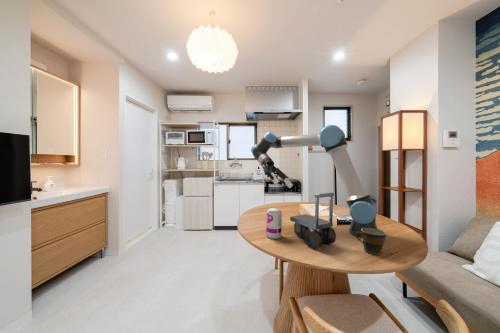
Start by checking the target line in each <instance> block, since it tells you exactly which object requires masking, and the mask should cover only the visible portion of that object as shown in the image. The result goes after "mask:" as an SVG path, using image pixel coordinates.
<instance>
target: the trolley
mask: <svg viewBox="0 0 500 333" xmlns="http://www.w3.org/2000/svg"><path fill="white" fill-rule="evenodd" d="M334 195H335V193H334V192H325V193H316V194H314V198H315V204H314V207H315V209H314V215H311V214H308V213H305V214H299V215H293V216H289V221H291V222H294V224H293V231H294V233H295V235H296V236H297V237H298V238H300V239H304V241H305V244H306V245H307V247H308V248H310V249H312V250H314V249H319V248H321V246H322V244H323V245H327V246H328V245H333V244H335V242H336V240H337V234H336V231H335V230H334V228H333V226H334V222H333V219H334V218H333V212H334V210H333V208H334ZM328 197H329V202H328V203H329V204H328V206H329V207H328V209H329V210H328V214H329V215H328V220H326V219H323V218H320V217H319V214H320V213H319V210H320V199H321V198H328Z"/></svg>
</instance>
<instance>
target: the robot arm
mask: <svg viewBox="0 0 500 333" xmlns="http://www.w3.org/2000/svg"><path fill="white" fill-rule="evenodd" d="M260 140H261V141H260V142H259V143H258V144H257V143H255V144H254V145H253V146H252V147H251V149H250V152H251V153H252V156H253V157H254V158H255V159H256V161H257V162H258V163H259V165H260V166H261V168H262V169H263V173H264V175H265V176H266V178H269V179H270V180H271V181H272V183H273V184H274V185H275V186H277V185H278V183H279V182H280V181H279V180H278V178H277V177H276V176H278V177H279V178H280V179H282V180H283V182H284V183H285V185H286V186H287V188H289V189H291V188H292V187H293V186H294V185H293V183H292V182H291V181H290V179H289V176H287V175H286V174H285V173H284V172H283V171H282V170H280V168H279V167H276V166H275V161H273V159H272V158H271V157H270V156H269V154H268V153H267V152H268V151H269V150H270V149H271V148H273V149H282V148H298V147H299V148H300V147H303V148H304V147H319V146H320V147H321V148H324V151H325V154H328V155H329V156H330V157H331V159H332V162H333V165H334V168H335V170H336V172H337V174H338V177H339V179H340V182H341V184H342V187H343V189H344V191H345V194H346V196H347V197H346V200H345V201H346V203H347V206H348V208H349V216H350V217H351V219H352V220H351V222H350V226H349V228H348V232H349V234H350V235H351V236H354V237H356V236H357V237H358V238H360V239H362V235H361V234H360V233H357V234H356V236H355V233H356V232H361V229H362V228H374V229H379V228H378V226H377V223H376V222H377V214H378V213H377V202H378V200H377V196H376V195H372V194H370V193H369V192H366V191H365V189H364V187H363V185H362V183H361V179H360V178H359V175H358V174H357V171H356V169H355V165H354V164H353V161H352V158H351V157H350V154H349V152H348V150H347V149H348V145H349V144H348V141H347V140H346V134H345V133H344V130H342V129H341V128H340V127H339V126H338V125H336V124H335V125H334V124H328V125H326V126H324V127H322V129H321V130H320V132H319V133H312V134H311V133H310V134H298V135H287V136H277V135H276V134H275V133H274V132H272V131H267V132H266V134H265V135H263V137H262V139H260ZM275 175H276V176H275Z"/></svg>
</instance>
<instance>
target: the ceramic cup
mask: <svg viewBox="0 0 500 333" xmlns="http://www.w3.org/2000/svg"><path fill="white" fill-rule="evenodd" d="M357 233H360V234H361V235H362V238H360V237H357V236H356V234H357ZM386 236H387V232H385V231H384V230H381V229H379V228H378V229H374V228H362V229H361V232H356V233H355V236H354V237H355V238H356V239H357V240H359V241H360V242H361V243H362V245H363V251H364V252H365V253H366V254H367V253H368V255H370V254H371V256H377V255H379V256H380V255H382V252H383V249H384V244H385V242H386Z"/></svg>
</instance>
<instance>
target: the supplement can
mask: <svg viewBox="0 0 500 333" xmlns="http://www.w3.org/2000/svg"><path fill="white" fill-rule="evenodd" d="M282 217H283V214H282V209H281V208H277V207H276V208H275V207H270V208H268V209H267V210H266V224H265V225H266V231H265V232H266V234H265V235H266V237H267V238H269V239H272V240H275V239H280V238H281V237H282V223H283V218H282Z"/></svg>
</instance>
